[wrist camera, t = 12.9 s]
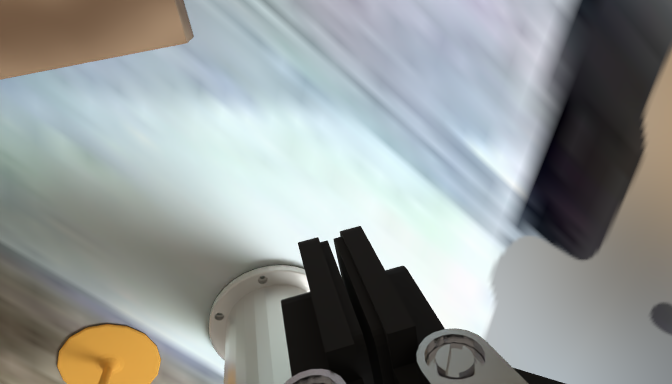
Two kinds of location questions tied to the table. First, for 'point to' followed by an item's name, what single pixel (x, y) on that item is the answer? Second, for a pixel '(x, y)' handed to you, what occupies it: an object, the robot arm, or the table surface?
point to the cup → (109, 356)
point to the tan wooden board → (84, 31)
